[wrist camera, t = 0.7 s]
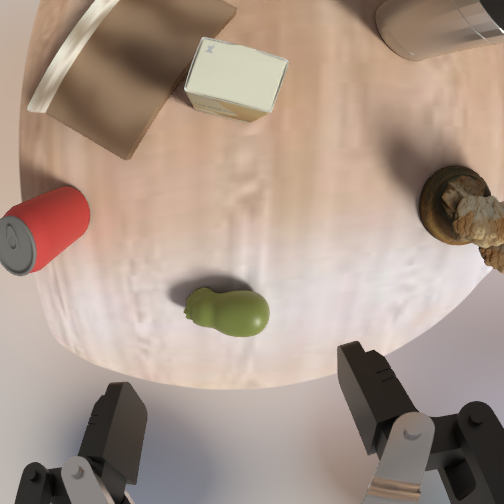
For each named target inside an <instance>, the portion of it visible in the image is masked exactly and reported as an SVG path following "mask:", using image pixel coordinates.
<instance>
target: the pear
mask: <svg viewBox="0 0 504 504" xmlns="http://www.w3.org/2000/svg"><path fill="white" fill-rule="evenodd" d="M186 304H187V306H186V308H185V310H184V313H185V314H186V318H187V319H191V320H193V322H194V323H195V324H197V325H199V326H202V327H210V328H214V329H216V330H218V331H220V332H222V333H224V334H226V335H229V336H234V337H249V336H254V335H257V334H259V333H260V332H261V331H263V329H264V328H265V327H266V325H267V323H268V320H269V306H268V303H267V301H266V300H265V299H264V297H262V296H261V295H260V294H258V293H256V292H253V291H247V290H236V291H229V292H226V293H215V292H213V291H212V290H211V289H209V288H206V287H203V288H200V289H196V290H195V291H194V292H193V293H192V295H190V296H189V297H188V298H187V299H186Z"/></svg>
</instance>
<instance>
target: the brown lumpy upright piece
mask: <svg viewBox="0 0 504 504" xmlns="http://www.w3.org/2000/svg"><path fill="white" fill-rule="evenodd" d="M420 217H421V220H422V223H423V225H424V227H425V228H426V230H427V231H428V232H429V233H430V234H431V235H432V236H433V237H435V238H436V239H438V240H440V241H442V242H444V243H446V244H450V245H465V244H469V243H474V244H476V245H478V246H479V251H480V253H481V256H482V258H483V259H484V260H485V261H484V263H485V264H486V265H487V266H492V267H493V269H497V270H498V271H499V272H501V273H504V201H503V202H498V200H497V198H495V197H494V196H491V193H490V190H489V188H488V186H487V184H486V182H485V181H484V179H483V178H482V177H480V176H479V175H478V174H477V173H476V172H474V171H473V170H471V169H468V168H465V167H461V166H450V167H449V166H448V167H446V168H442V169H441V170H439V171H437V172H435V174H434V175H433V177H432V178H429V179H428V181H427V182H426V184H425V186H424V188H423V192H422V194H421V199H420Z"/></svg>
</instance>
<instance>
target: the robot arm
mask: <svg viewBox="0 0 504 504" xmlns="http://www.w3.org/2000/svg"><path fill="white" fill-rule="evenodd" d="M375 20H376V26H377V29H378V31H379V33H380V35H381V37H382V38H383V40H384V41H385V43H386V44H387V45H388V46H389V47H390V48H391V49H392V50H393V51H394V52H395V53H397V54H398V55H400V56H401V57H403V58H405V59H408V60H412V61H420V60H424V59H428V58H432V57H436V56H440V55H444V54H449V53H453V52H457V51H462V50H467V49H472V48H478V47H483V46H489V45H496V44H502V43H504V0H387V1H385V2H384V3H382V4H381V5H380V6H379V7H378V8H377V11H376V15H375ZM337 360H338V379H339V384H340V387H341V389H342V392H343V394H344V397H345V399H346V402H347V404H348V406H349V409H350V411H351V414H352V416H353V419H354V421H355V424H356V426H357V429H358V431H359V434H360V436H361V439H362V441H363V443H364V446H365V449H366V451H367V454H368V455H371V454H374V453H377V455H378V458H379V460H380V462H379V464H378V467H377V469H376V471H375V474H374V476H373V479H372V481H371V483H370V485H369V488H368V490H367V492H366V494H365V497H364V498H363V501H362V503H361V504H418V502H419V498H420V485H421V481H422V478H423V475H424V472H425V471H429V470H434V469H438V472H439V474H440V477H441V479H442V482H443V484H444V487H445V489H446V492H447V495H448V497H449V500H450V502H451V504H504V428H503V427H502V425H501V423H500V422H499V420H498V418H497V417H496V415H495V414H494V412H493V410H492V409H491V408H490V406H488V405H487V404H486V403H483V402H479V401H474V402H470V403H468V404H466V405H465V406H464V407H463V408H462V409H461V410H460V412H459V413H458V414H453V415H447V416H442V417H429V416H427V415H425V414H423V413H420V412H419V411H418V410H417V409H416V408H415V406H414V405H413V403H412V401H411V400H410V398H409V396H408V395H407V393H406V391H405V390H404V388H403V386H402V385H401V383H400V381H399V380H398V378H396V375H395V373H394V371H393V370H392V369H391V367H390V365H389V363H388V362H387V360H386V359H385V357H384V356H382V355H381V354H379V353H378V352H376V351H375V350H371V351H368V352H365V351H364V349H363V348H362V346H361V344H360V343H359V341H354V342H350V343H347V344H343V345H340V346H338V348H337ZM146 423H147V410H146V407H145V405H144V403H143V402H142V400H141V399H140V398H139V396H138V395H137V393H136V392H135V390H134V389H133V387H132V386H131V384H130V383H129V382H117V383H110V384H109V385H108V387H107V390H106V393H105V395H102V396H101V397H100V399H99V400H98V401H97V402H96V403H95V405H94V408H93V410H92V413H91V417H90V419H89V422H88V424H89V425H87V428H86V431H85V434H84V437H83V440H82V444H81V447H80V450H79V453H78V456H75V457H72V458H70V459H68V460H67V461H66V462H65V463H64V465H63V466H62V467H61V468H54V469H46V468H45V467H44V466H43V465H41V464H40V463H38V462H33V463H30V464H28V465H27V466H26V467H25V469H24V471H23V474H22V477H21V480H20V484H19V488H18V492H17V496H16V500H15V504H50V503H51V504H135V503H134V502H133V500H132V499H131V497H130V496H129V494H128V492H127V491H126V490H125V485H126V484H133V485H136V483H137V476H138V470H139V463H140V457H141V451H142V445H143V439H144V434H145V428H146Z"/></svg>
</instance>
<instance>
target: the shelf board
mask: <svg viewBox="0 0 504 504" xmlns="http://www.w3.org/2000/svg"><path fill="white" fill-rule="evenodd" d="M235 15H236V7H234V6H232V5H230V4H228V3H227V2H225V1H222V0H95V1H94V3H93V4H92V5H91V6H90V8H89V9H88V10H87V11H86V13H85V14H84V15H83V16H82V18H81V19H80V20H79V22H78V23H77V24H76V26H75V27H74V29H73V30H72V31H71V33H70V34H69V36H68V37H67V39H66V40H65V42H64V43H63V45H62V46H61V48H60V49H59V51H58V52H57V54H56V56H55V57H54V59H53V61H52V62H51V64H50V66H49V67H48V69H47V71H46V73H45V74H44V76H43V78H42V80H41V82H40V83H39V85H38V87H37V89H36V91H35V93H34V95H33V97H32V99H31V101H30V103H29V105H28V108H27V110H29V111H31V112H42V113H47V114H48V115H50V116H52V117H53V118H55V119H57V120H58V121H60V122H62V123H63V124H65V125H67V126H68V127H70V128H72V129H74V130H75V131H77V132H79V133H80V134H82V135H84V136H85V137H87V138H89V139H90V140H92V141H94V142H95V143H97V144H99V145H100V146H102V147H104V148H105V149H107V150H109V151H110V152H112V153H114V154H115V155H117V156H119V157H120V158H122V159H124V160H128V159H131V157H132V155H133V154H134V152H135V150H136V148H137V147H138V145H139V143H140V142H141V140H142V138H143V137H144V135H145V133H146V132H147V130H148V128H149V127H150V125H151V124H152V122H153V121H154V119H155V117H156V116H157V114H158V113H159V111H160V110H161V108H162V107H163V105H164V104H165V102H166V101H167V99H168V98H169V97H170V95H171V94H172V92H173V91H174V89H175V88H176V87H177V85H178V84H179V83H180V81H181V80H182V78H183V77H184V76H185V74H186V73H187V72H188V70H189V69H190V67H191V64H192V61H193V59H194V56H195V53H196V51H197V48H198V46H199V44H200V41H201V39H202V37H207V38H211V39H214V38H215V37H216V36H217V35H218V34H219V32H220V31H221V30H222V29H223V28H224V27H225V26H226V25H227V24H228V22H229V21H230V20H231V19H232V18H233V17H234V16H235Z"/></svg>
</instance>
